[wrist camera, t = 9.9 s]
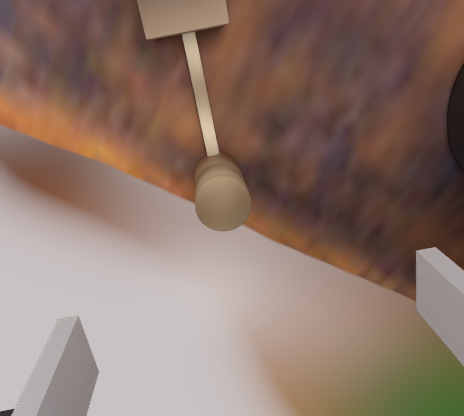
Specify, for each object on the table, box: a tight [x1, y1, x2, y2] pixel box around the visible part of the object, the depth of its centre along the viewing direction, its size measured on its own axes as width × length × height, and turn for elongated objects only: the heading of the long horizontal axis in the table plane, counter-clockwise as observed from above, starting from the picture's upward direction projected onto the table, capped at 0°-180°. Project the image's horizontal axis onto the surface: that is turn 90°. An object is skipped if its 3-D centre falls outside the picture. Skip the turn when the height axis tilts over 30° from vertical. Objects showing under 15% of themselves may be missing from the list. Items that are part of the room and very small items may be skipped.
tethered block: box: [137, 0, 252, 231], centre depth 28 cm, size 17×5×7 cm, turn 11°
